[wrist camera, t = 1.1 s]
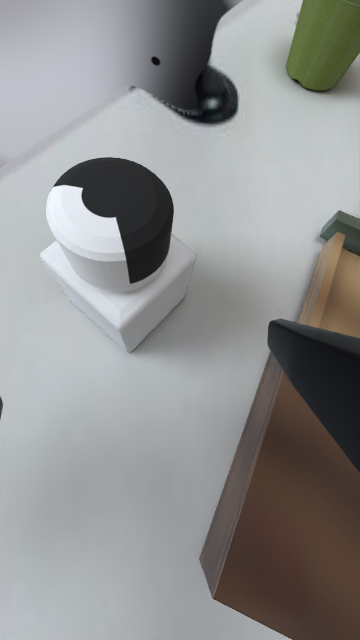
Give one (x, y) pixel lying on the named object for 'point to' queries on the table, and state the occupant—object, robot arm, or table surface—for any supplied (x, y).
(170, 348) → the table surface
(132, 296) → the medicine bottle
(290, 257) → the table surface
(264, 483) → the cabinet
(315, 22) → the plant pot
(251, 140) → the table surface
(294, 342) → the robot arm
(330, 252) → the drawer
